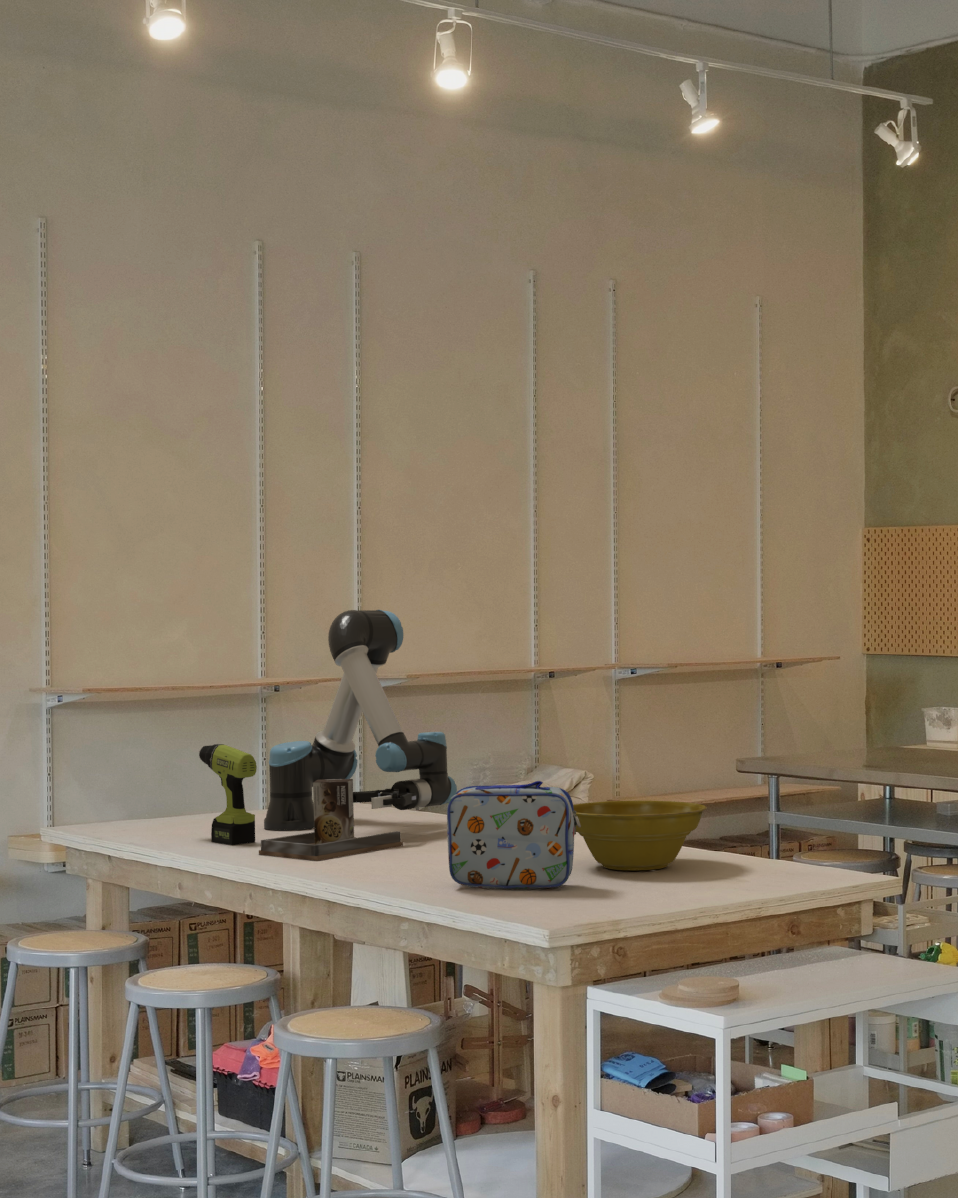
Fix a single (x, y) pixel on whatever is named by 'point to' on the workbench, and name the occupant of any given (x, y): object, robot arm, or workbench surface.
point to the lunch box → (511, 836)
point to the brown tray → (326, 846)
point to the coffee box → (333, 810)
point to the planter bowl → (636, 831)
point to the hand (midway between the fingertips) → (352, 802)
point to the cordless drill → (231, 793)
